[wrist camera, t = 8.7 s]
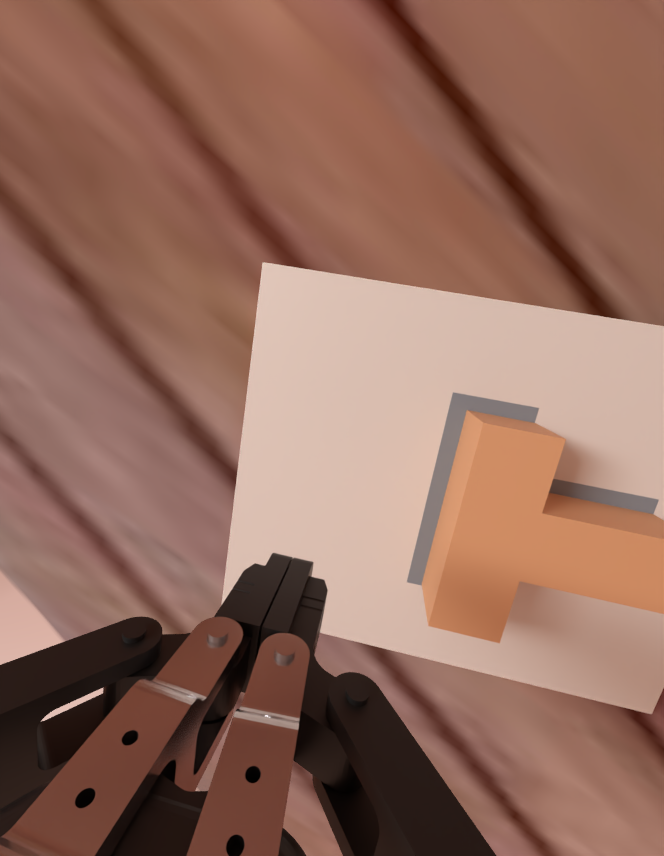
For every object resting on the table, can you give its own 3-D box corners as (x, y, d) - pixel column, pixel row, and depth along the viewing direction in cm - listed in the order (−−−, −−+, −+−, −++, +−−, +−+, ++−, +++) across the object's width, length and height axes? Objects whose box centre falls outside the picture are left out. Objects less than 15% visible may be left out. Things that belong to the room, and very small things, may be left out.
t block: (679, 450, 22) (741, 473, 18) (608, 627, 25) (649, 679, 21) (466, 409, 23) (483, 422, 19) (421, 584, 26) (428, 626, 22)
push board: (803, 350, 21) (815, 350, 20) (645, 706, 26) (651, 714, 26) (265, 264, 24) (262, 262, 23) (224, 602, 29) (221, 608, 28)
